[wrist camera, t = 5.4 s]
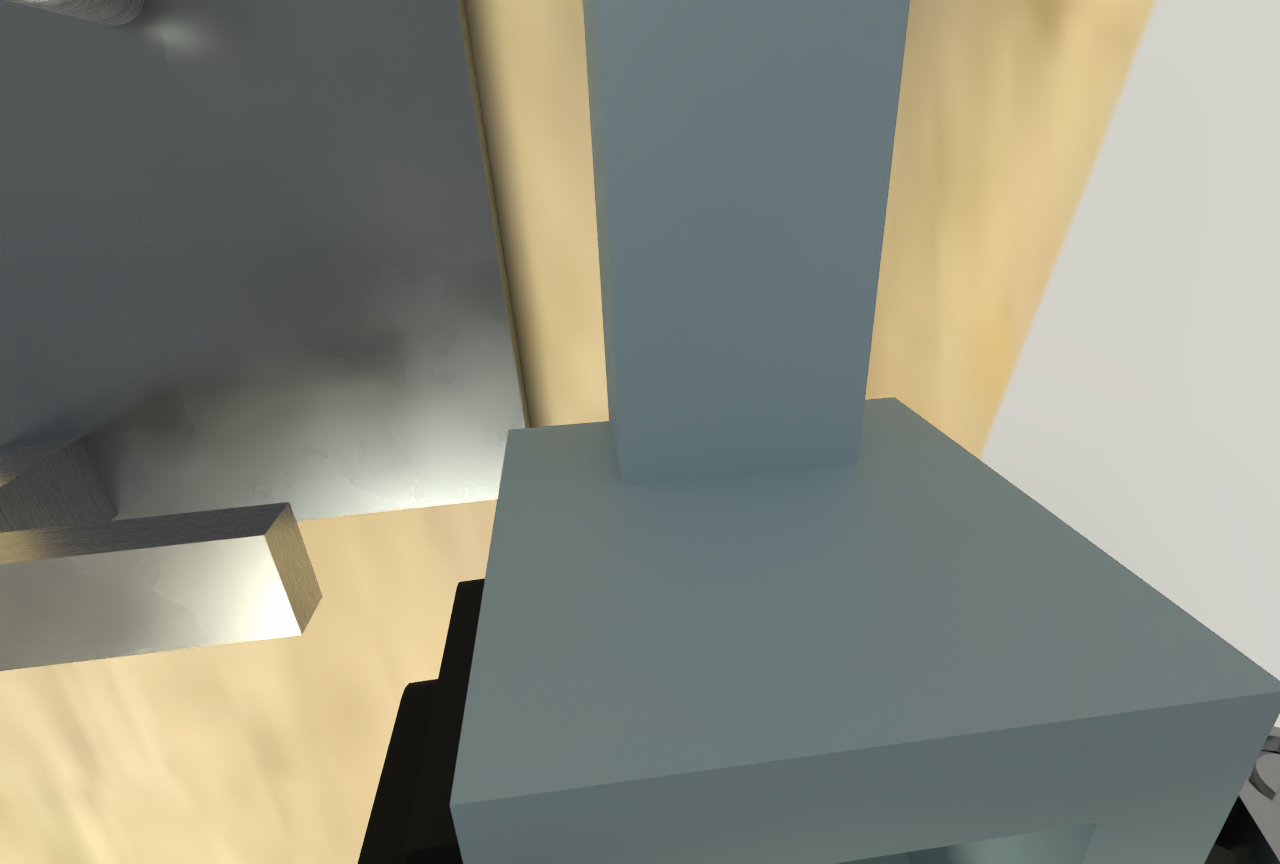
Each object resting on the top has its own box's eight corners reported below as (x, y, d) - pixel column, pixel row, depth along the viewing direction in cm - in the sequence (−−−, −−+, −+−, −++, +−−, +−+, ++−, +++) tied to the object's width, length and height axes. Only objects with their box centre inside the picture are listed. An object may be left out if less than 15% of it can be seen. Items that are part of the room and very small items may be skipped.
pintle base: (67, 525, 19) (-191, 726, 13) (-380, -318, 12) (-1601, -898, 5) (537, 475, 20) (521, 639, 14) (410, -343, 12) (235, -867, 6)
